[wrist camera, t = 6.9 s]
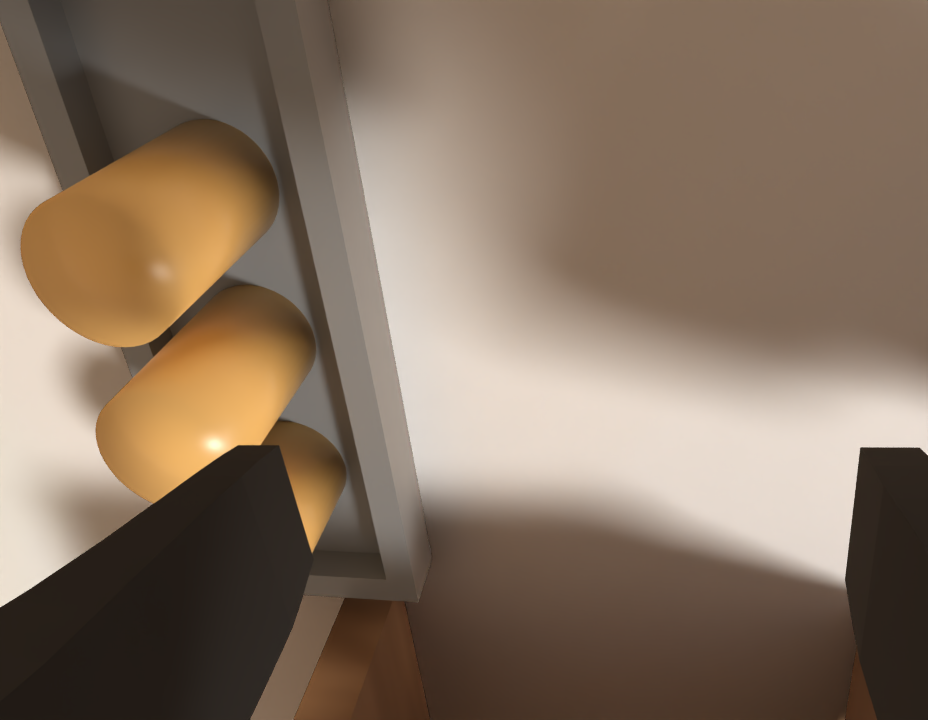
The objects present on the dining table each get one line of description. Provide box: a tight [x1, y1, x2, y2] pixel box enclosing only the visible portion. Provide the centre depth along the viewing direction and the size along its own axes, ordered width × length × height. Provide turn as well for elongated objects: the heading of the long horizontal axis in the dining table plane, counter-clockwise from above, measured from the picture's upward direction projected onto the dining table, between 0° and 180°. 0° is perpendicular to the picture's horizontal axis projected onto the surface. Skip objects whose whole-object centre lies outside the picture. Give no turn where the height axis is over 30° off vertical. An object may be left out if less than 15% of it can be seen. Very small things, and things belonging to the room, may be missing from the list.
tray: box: [0, 0, 432, 602], centre depth 19 cm, size 6×18×6 cm, turn 7°
